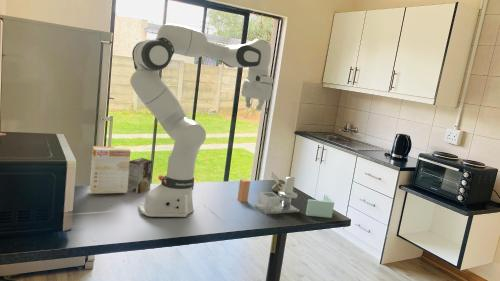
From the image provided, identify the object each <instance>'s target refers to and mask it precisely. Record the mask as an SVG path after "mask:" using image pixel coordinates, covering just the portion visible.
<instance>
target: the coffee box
mask: <svg viewBox="0 0 500 281" xmlns="http://www.w3.org/2000/svg"><path fill="white" fill-rule="evenodd" d="M152 166H153V160H151V159H147V158H143V157H141V158H137V159H132V160H130V162H129V174H128V187H127V192H129V193H134V194H141V193H144V192H145V191H147V190H148V191H149V190H150V189H151V182H152V180H151V179H152V171H153V170H152V169H153V168H152Z"/></svg>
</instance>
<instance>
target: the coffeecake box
mask: <svg viewBox="0 0 500 281" xmlns="http://www.w3.org/2000/svg"><path fill="white" fill-rule="evenodd" d="M130 161H131V149H130V148H129V147H128V146H107V145H105V146H103V145H101V146H98V145H93V146H92V151H91V165H90V179H89V191H90V194H92V195H93V194H95V195H96V194H127V193H128V191H127V187H128V174H129V162H130Z"/></svg>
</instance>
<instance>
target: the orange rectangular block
mask: <svg viewBox="0 0 500 281" xmlns="http://www.w3.org/2000/svg"><path fill="white" fill-rule="evenodd" d="M238 185H239V186H238V193H237V199H236V200H238V201H239V202H240V203H248V201H249V200H248V199H249V195H250V194H249V192H250V187H251V186H250V185H251V180H249V179H247V178H245V179H240V178H239V183H238Z"/></svg>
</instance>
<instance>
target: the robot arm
mask: <svg viewBox="0 0 500 281" xmlns="http://www.w3.org/2000/svg"><path fill="white" fill-rule="evenodd" d="M271 53H272V47H271V44H270V42H268V41H266V40H264V39H259V38H256V39H254V40H253V41H250V42H247V43H243V44H227V45H220V44H217V43H214V42H210V41H209V40H208V38H207V36H206V34H205V33H204V32H202V31H200V30H198V29H196V28H193V27H189V26H186V25H181V24H175V23H165V24H162V25H161V27H159V29H158V31H157V35H156V37H155V39H146V40H142V41H139V42H137V43H136V44H135V45H134V47H133V49H132V54H131V55H132V56H131V57H132V60H133V65H134V70H135V71H134V72H133V73H132V74H131V77H130V80H129V81H130V85H131V88H132V89H133V91H134V92H135V94H136V95H137V97H138V98H139V100H140V101H141V102H142V103H143V105H145V107H146V108H147V109H148V110H149V112H151V114H152V115H153V116H154V117H155V119H156V120H157V121H158V122H159V124H160V126H161V127H162V129H163V130H164V131H165V132H166V134H167V135H168V136H169V138H170V139H172V140H173V141H174V145H173V148H172V151H171V153H170V154H169V156H168V159H167V169H166V170H167V171H166V175H165V176H163V174H158V176H157V177H158V180H159V181H161V183H160V184H159V185H157V187H154V188H153V189H151V190H150V191H149V192H147V194H146V196H145V200H144V202H143V201H142V202H140V203H139V204H138V210H139V211H140V212H141V213H142V214H143V215H145V216H147V217H163V218H164V217H165V218H167V217H169V218H171V217H172V218H175V217H176V218H177V217H179V218H181V217H182V218H184V217H187V216H188V214H189V215H190V214H191V213H193V211H194V204H193V190H194V187H195V177H194V175H195V166H196V162H197V157H198V155H199V154H198V153H199V150H200V148H201V146H202V145H203V144H204V143H205V141H206V137H207V132H206V130H205V128H204V127H203V126H202V125H201V123H200V122H198V121H197V120H195V119H192V118H190V117H189V116H188V115H187V114H186V113H185V111H184V110H183V107H182V106H181V104H180V102H179V100H178V98H177V97H176V96H175V95H174V93H173V92H172V91H171V90H170V88H169V87H168V86H167V85H166V84H165V82H164V81H163V80H162V78H161V76H160V74H159V73H160V72H159V71H161V70H164V69H165V68H167V67H168V66H169V64H170V63H171V60H172V57H173V55H174V54H175V55H180V56H185V57H190V58H201V57H207V58H210V59H214V60H217V61H220V62H221V63H222V64H224V65H225V66H226V67H228V68H232V69H233V68H244V69H245V68H248V73H247V76H246V78H245V80H244V81H243V84H242V88H241V92H240V93H241V97H245V98H244V99H245V108H249V109H250V108H252V103H251V100H252V99H255V100H258V104H257V105H256V108H255V110H257V111H262V107H263V105H264V103H265V101H267V102H269V101H270V100H271V98H272V93H273V84H274V78H273V77H271V75H269V66H270V63H271V57H272V55H271Z"/></svg>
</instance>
